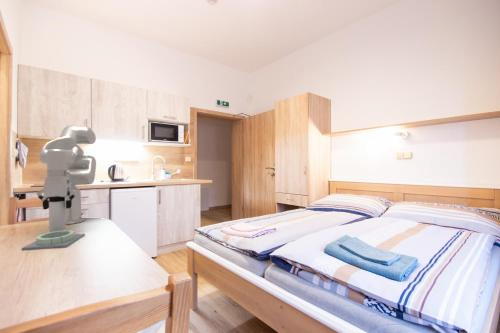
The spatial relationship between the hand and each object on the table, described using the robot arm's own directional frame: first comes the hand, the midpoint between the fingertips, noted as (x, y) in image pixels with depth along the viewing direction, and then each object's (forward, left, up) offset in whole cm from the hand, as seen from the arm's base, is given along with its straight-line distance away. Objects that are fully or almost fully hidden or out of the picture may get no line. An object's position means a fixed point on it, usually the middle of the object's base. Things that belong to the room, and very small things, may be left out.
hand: (57, 208), depth 117 cm
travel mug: (0, 0, -13) cm, 13 cm away
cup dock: (+13, +6, -13) cm, 19 cm away
